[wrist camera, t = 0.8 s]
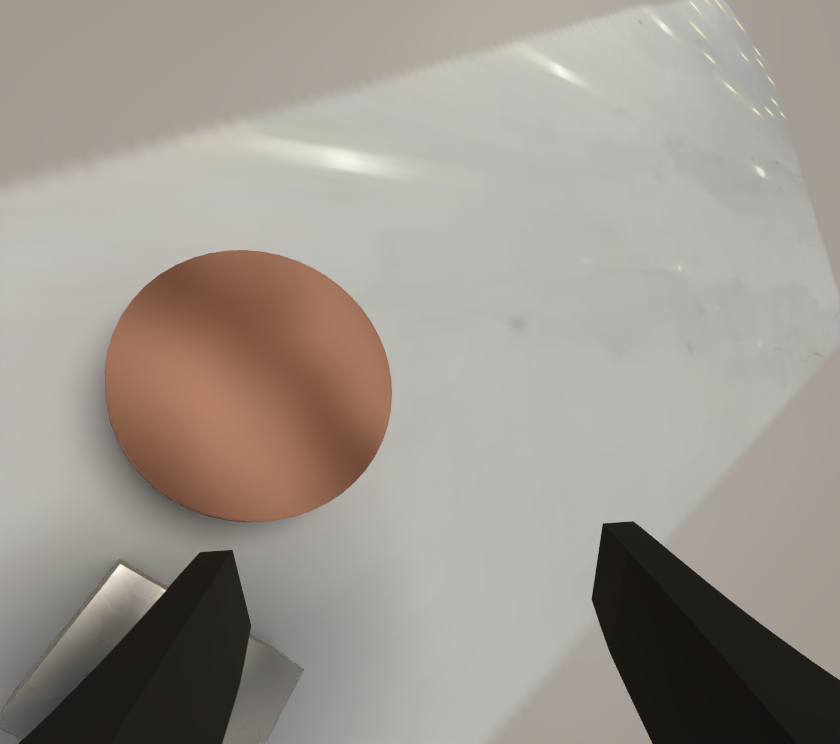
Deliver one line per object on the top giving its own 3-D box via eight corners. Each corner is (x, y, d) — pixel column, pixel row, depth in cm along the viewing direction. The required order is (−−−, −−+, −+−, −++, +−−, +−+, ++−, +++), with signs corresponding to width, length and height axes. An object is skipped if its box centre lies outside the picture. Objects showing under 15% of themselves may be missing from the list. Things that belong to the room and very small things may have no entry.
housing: (200, 774, 18) (226, 845, 14) (16, 687, 16) (-16, 738, 12) (273, 647, 20) (313, 676, 16) (119, 559, 19) (120, 565, 15)
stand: (266, 570, 21) (304, 578, 17) (41, 432, 18) (20, 401, 14) (380, 388, 26) (429, 360, 22) (215, 260, 23) (237, 201, 19)
